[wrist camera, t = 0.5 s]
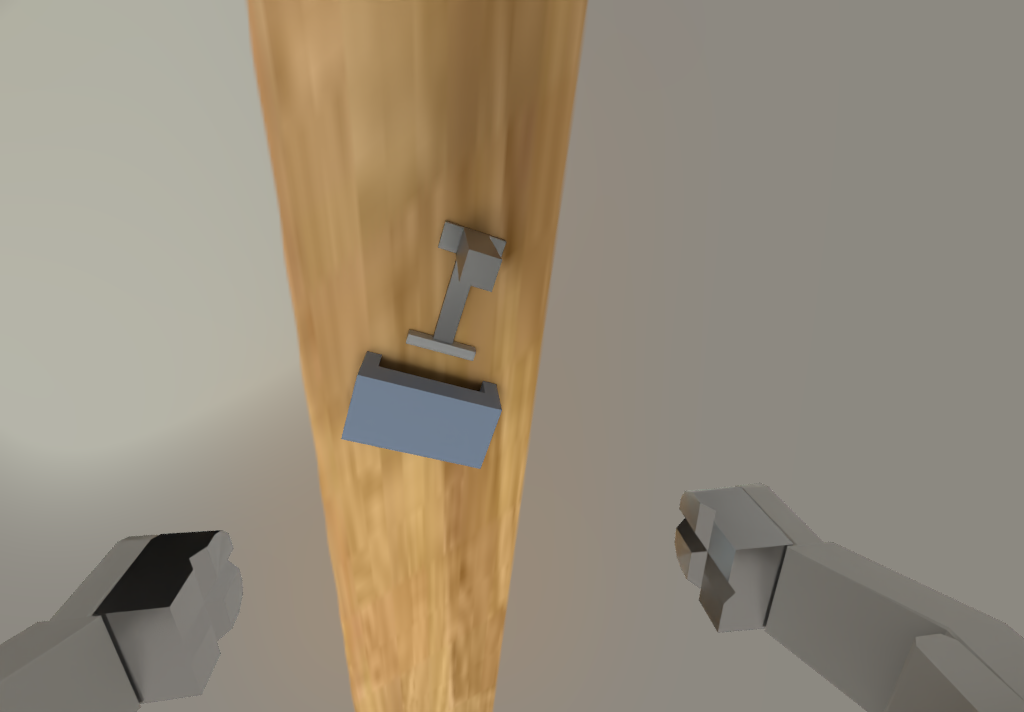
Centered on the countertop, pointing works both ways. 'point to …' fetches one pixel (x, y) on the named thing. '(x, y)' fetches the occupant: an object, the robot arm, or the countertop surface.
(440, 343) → the scraper
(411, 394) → the blue-grey bridge block
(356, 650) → the countertop surface
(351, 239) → the countertop surface
